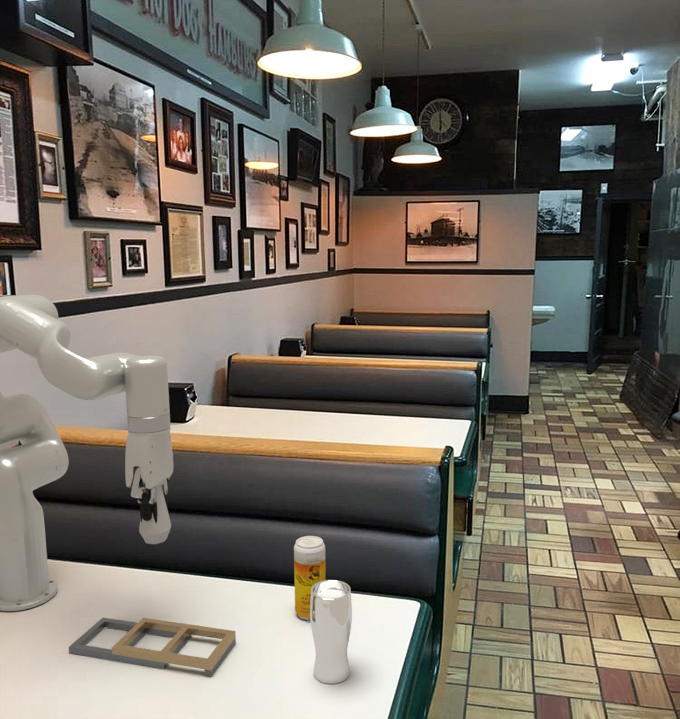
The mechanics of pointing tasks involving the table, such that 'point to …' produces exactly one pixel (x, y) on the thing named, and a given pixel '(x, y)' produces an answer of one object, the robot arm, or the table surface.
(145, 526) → the salt shaker
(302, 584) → the beer can
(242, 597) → the table surface
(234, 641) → the gold rectangular frame
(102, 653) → the grey rectangular frame
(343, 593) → the beer glass
